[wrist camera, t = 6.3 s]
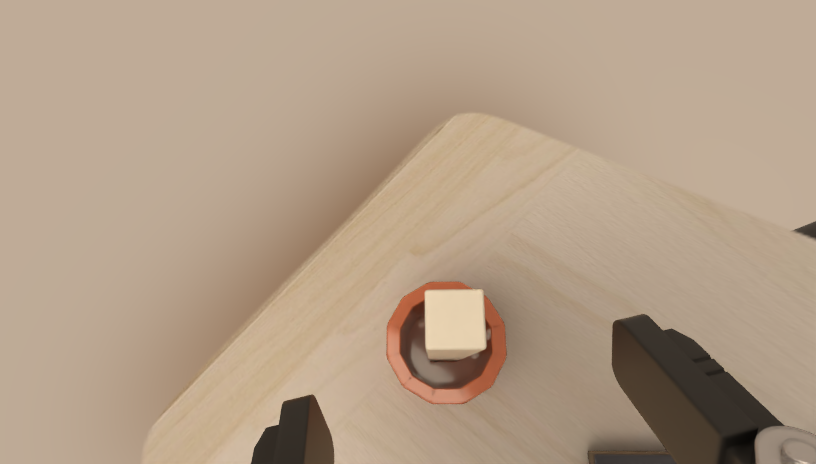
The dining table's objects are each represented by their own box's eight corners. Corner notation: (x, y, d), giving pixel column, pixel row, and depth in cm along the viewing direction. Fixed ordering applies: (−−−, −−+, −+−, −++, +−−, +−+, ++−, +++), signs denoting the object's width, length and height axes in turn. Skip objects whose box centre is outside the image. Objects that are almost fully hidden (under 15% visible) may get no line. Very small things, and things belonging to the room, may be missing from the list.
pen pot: (487, 300, 25) (502, 280, 19) (492, 396, 23) (510, 404, 18) (396, 300, 25) (387, 282, 20) (396, 396, 23) (385, 403, 18)
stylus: (457, 332, 24) (483, 288, 11) (457, 361, 23) (487, 349, 11) (428, 332, 24) (424, 288, 11) (429, 361, 23) (425, 349, 11)
